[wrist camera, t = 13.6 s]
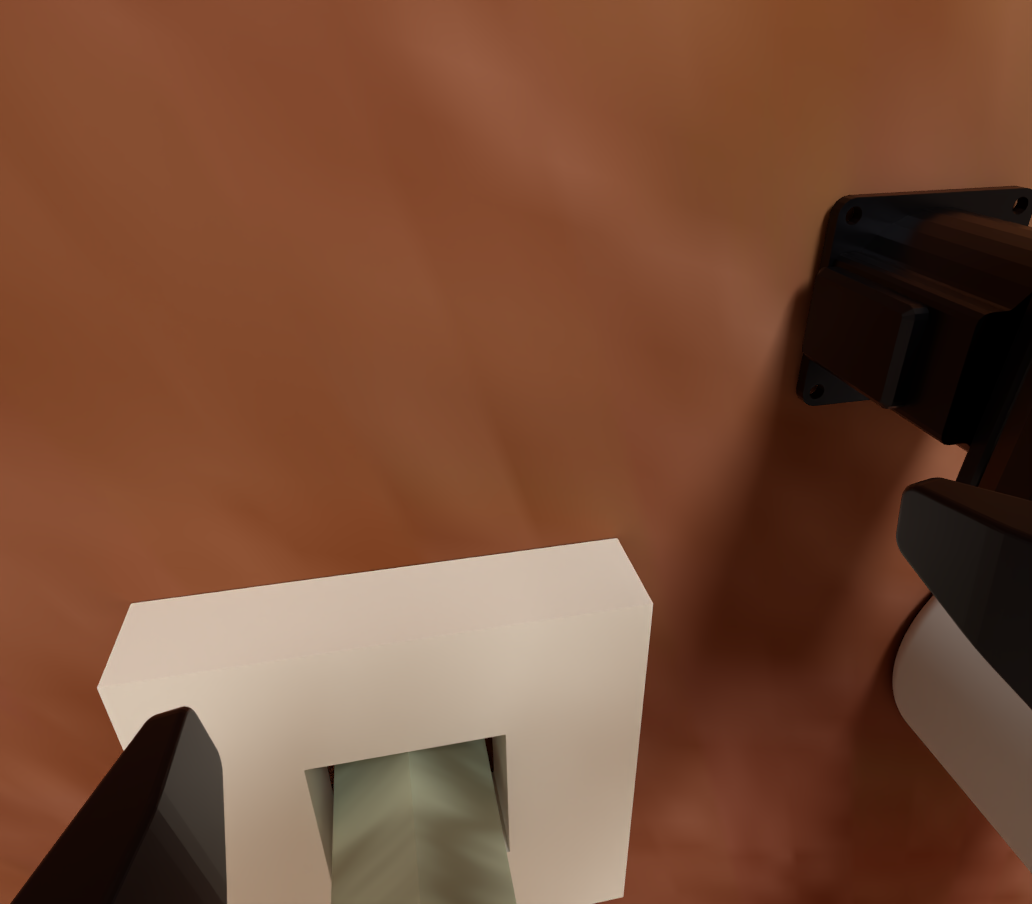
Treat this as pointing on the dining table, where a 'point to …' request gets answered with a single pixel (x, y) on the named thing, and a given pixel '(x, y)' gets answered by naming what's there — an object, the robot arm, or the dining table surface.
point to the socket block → (410, 704)
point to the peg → (419, 830)
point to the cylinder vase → (968, 722)
